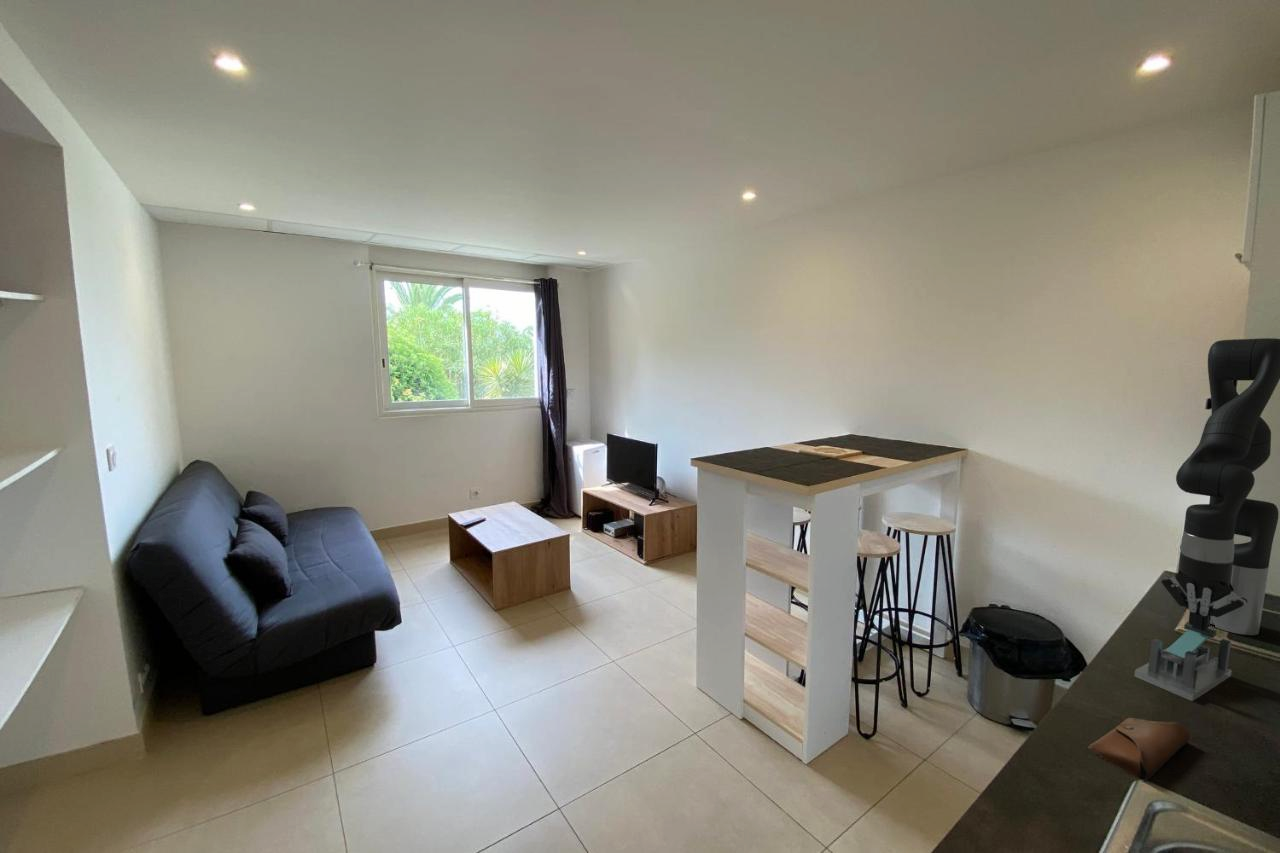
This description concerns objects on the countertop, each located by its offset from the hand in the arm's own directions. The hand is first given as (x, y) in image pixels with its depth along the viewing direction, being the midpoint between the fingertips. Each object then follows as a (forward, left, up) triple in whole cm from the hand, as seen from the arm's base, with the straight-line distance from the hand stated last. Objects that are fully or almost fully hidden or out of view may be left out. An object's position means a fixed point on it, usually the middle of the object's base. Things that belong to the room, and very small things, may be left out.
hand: (1198, 628), depth 110 cm
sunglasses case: (+39, +6, -11) cm, 41 cm away
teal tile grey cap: (+5, 0, -3) cm, 6 cm away
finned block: (+5, 0, -10) cm, 11 cm away
